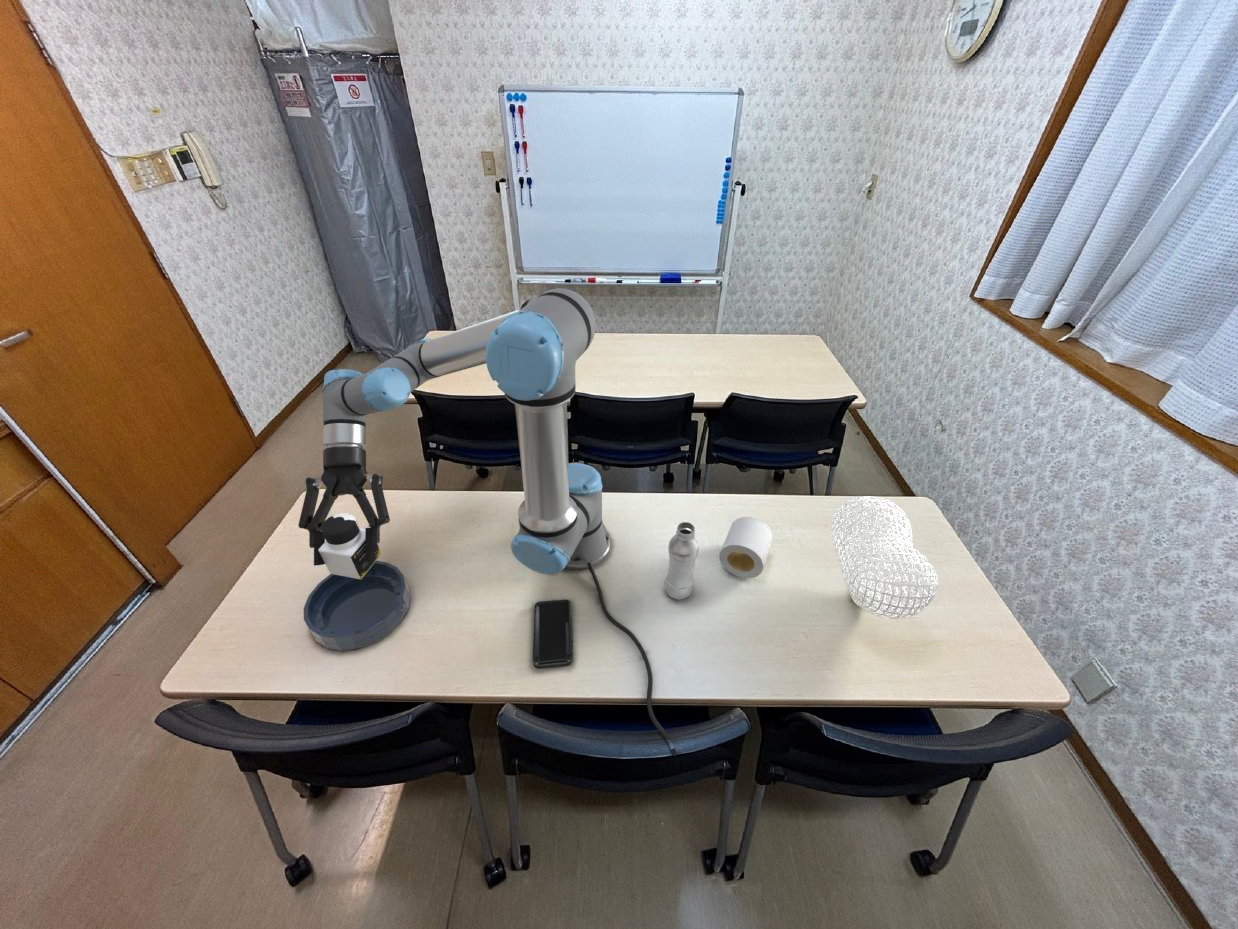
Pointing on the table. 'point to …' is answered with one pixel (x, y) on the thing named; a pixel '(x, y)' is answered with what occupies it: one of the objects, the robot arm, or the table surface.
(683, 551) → the plastic bottle
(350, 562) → the medicine bottle
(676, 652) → the table surface
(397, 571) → the bowl
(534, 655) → the phone
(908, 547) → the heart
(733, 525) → the toilet paper
